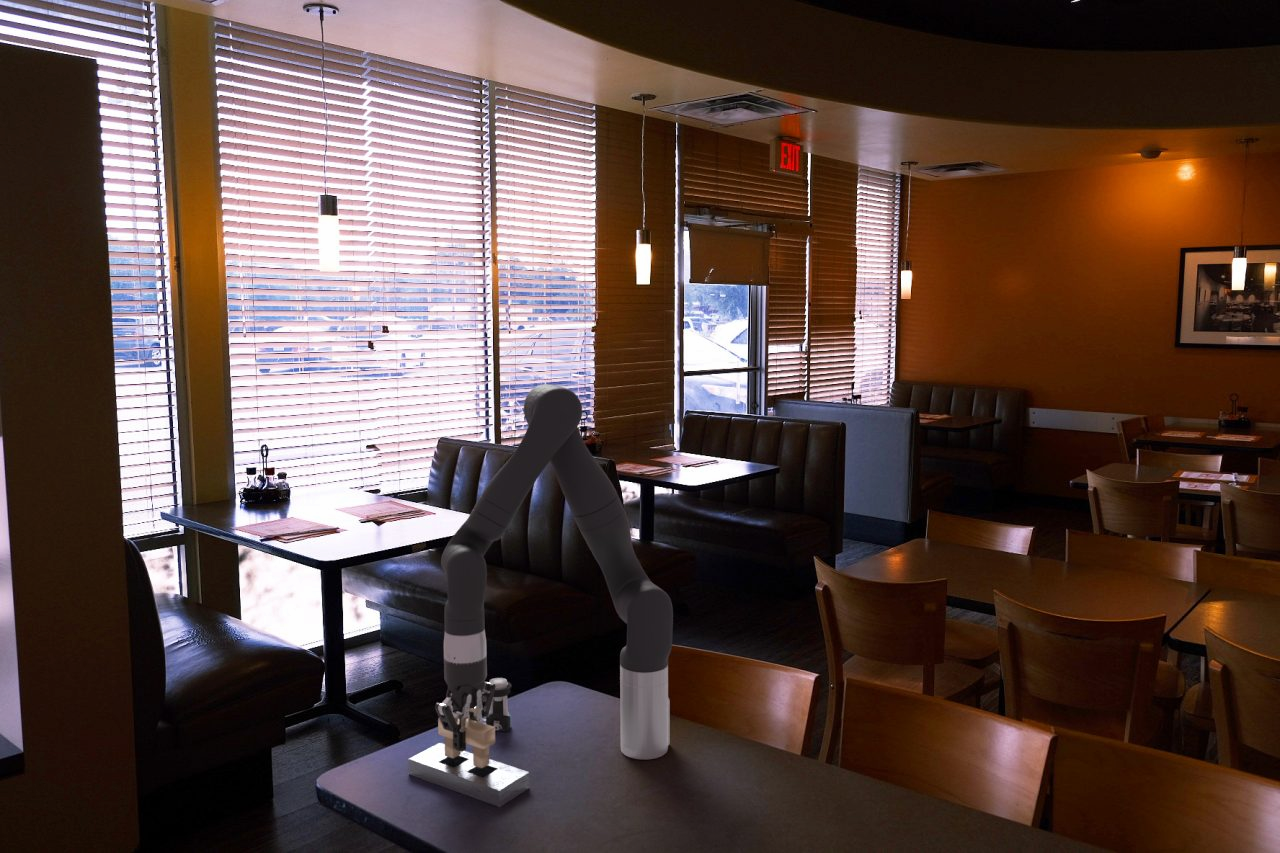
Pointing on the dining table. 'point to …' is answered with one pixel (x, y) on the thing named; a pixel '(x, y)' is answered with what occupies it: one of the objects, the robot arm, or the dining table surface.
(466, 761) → the grey block with holes
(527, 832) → the dining table surface
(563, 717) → the dining table surface
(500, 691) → the push button
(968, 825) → the dining table surface
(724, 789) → the dining table surface
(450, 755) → the wooden peg block
